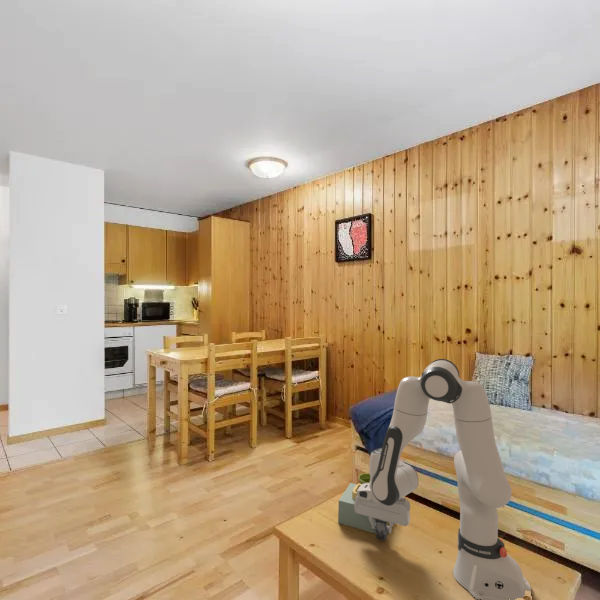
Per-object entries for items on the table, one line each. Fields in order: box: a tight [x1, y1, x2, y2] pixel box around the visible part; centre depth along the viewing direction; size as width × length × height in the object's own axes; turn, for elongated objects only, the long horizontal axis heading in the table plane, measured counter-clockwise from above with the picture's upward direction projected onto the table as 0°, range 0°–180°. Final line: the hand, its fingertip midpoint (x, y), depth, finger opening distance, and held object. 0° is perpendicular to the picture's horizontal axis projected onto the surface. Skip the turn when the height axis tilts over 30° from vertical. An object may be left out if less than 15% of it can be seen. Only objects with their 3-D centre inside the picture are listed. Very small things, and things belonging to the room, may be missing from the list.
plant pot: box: [358, 472, 370, 484], centre depth 174 cm, size 9×9×9 cm
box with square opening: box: [337, 482, 376, 534], centre depth 158 cm, size 16×16×12 cm
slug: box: [375, 519, 388, 541], centre depth 143 cm, size 4×4×6 cm
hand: (381, 530), depth 143 cm, fingers closed on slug, 4 cm apart
